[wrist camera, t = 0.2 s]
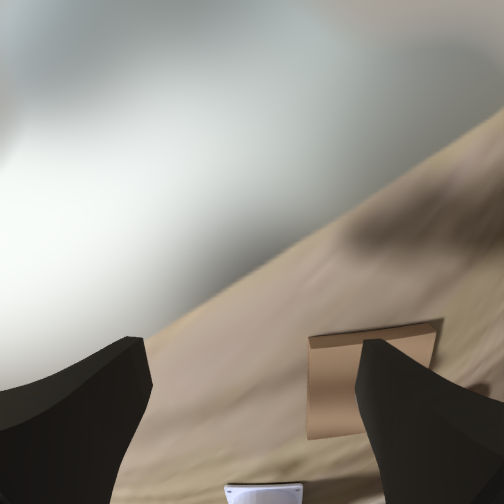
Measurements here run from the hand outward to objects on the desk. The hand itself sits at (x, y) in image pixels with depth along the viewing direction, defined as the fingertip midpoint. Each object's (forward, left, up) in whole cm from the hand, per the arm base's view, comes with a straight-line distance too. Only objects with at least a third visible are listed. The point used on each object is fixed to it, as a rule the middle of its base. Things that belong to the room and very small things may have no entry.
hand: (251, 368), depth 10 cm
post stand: (-9, -7, -10) cm, 16 cm away
